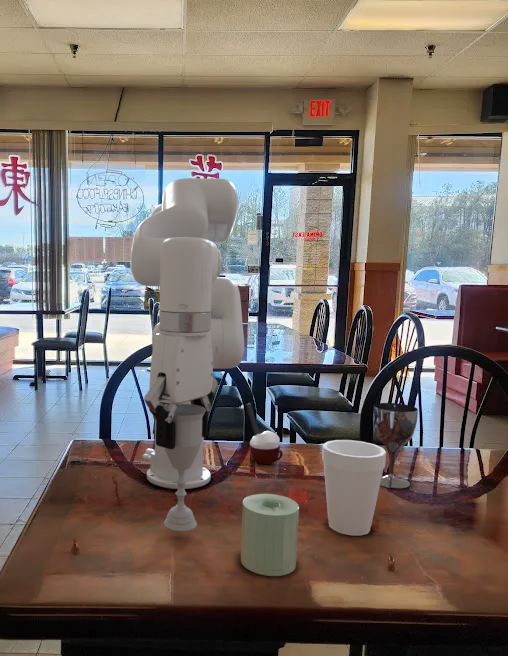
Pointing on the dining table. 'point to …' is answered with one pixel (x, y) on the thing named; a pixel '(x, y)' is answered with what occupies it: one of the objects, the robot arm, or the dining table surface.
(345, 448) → the foam cup
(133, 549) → the dining table surface
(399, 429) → the wine glass
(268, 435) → the cocoa
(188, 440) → the chalice
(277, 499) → the mug
